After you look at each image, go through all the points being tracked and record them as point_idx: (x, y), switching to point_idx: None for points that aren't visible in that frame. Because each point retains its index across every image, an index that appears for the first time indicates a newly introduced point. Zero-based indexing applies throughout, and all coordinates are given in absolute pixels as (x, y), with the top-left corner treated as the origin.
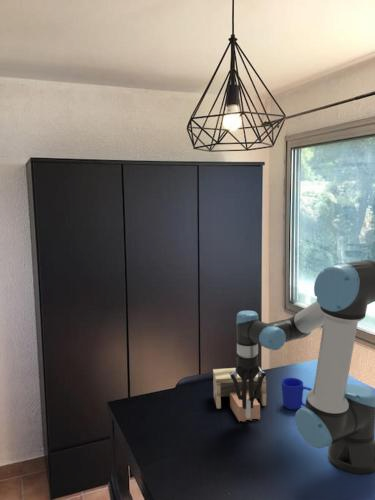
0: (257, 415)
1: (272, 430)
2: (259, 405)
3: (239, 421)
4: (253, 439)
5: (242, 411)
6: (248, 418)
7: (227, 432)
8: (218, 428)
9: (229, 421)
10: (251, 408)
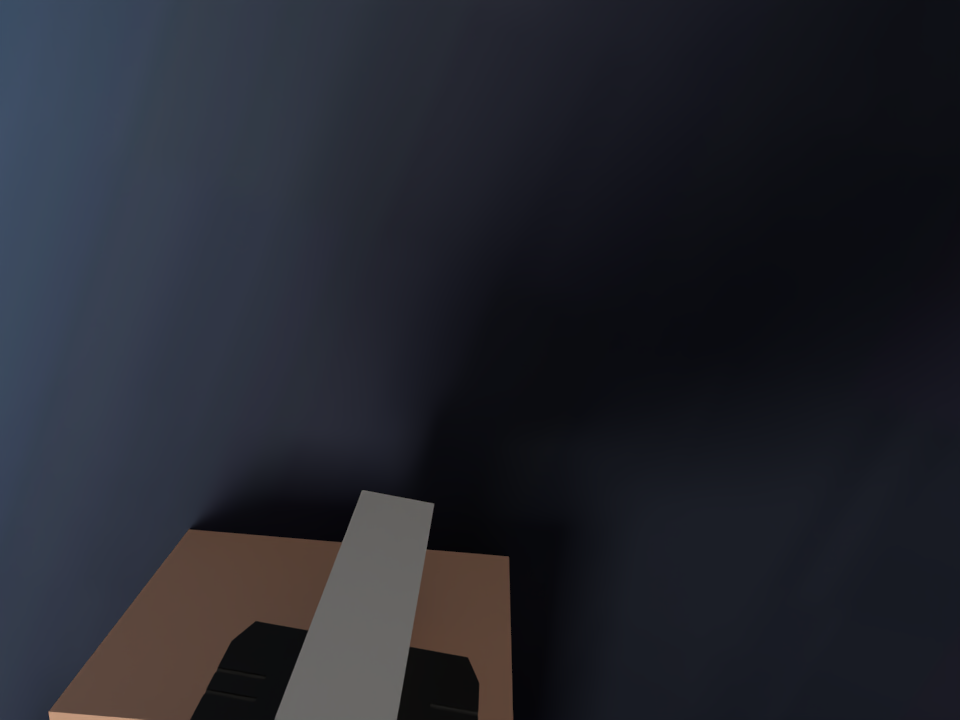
0: (204, 571)
1: (97, 182)
2: (72, 699)
3: (508, 559)
4: (509, 17)
5: None
6: None
7: (812, 354)
8: (880, 493)
9: (639, 605)
10: None
